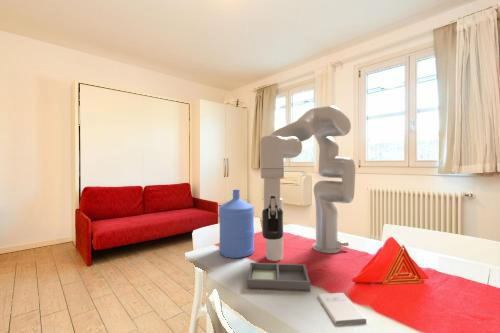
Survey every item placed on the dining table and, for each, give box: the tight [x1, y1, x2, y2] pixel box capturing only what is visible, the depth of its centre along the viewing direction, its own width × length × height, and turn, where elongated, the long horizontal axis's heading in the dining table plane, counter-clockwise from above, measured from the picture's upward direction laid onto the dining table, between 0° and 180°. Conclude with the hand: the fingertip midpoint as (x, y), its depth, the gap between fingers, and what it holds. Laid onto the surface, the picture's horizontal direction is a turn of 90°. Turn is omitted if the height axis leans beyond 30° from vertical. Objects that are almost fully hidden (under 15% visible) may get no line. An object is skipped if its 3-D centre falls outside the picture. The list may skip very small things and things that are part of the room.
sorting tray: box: [246, 262, 311, 292], centre depth 85 cm, size 20×13×3 cm, turn 85°
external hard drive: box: [317, 292, 367, 325], centre depth 68 cm, size 2×8×12 cm
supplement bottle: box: [261, 205, 284, 240], centre depth 81 cm, size 7×7×12 cm
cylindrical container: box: [265, 197, 284, 262], centre depth 104 cm, size 7×7×25 cm
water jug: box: [218, 189, 255, 259], centre depth 110 cm, size 16×16×28 cm
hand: (272, 227), depth 81 cm, fingers closed on supplement bottle, 6 cm apart
